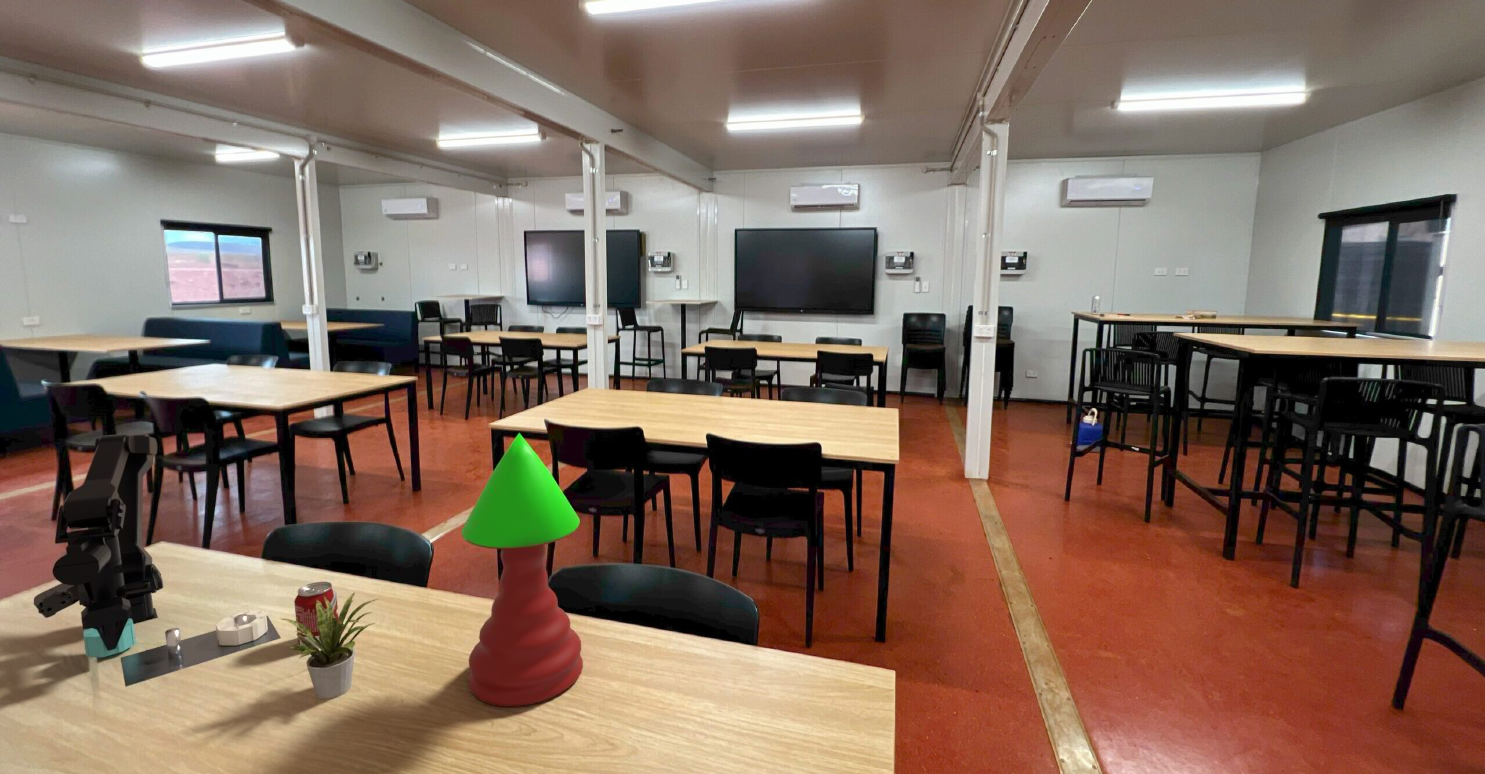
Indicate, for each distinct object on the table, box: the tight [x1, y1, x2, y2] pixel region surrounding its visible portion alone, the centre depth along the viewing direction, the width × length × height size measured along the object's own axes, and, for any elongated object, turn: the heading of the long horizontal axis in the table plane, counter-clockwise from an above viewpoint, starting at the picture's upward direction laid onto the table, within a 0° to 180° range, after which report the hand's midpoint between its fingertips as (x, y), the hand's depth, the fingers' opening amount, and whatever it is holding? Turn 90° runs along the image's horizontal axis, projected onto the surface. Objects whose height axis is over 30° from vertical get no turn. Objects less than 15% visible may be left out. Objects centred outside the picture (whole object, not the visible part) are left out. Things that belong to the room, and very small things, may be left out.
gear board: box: [120, 614, 282, 687], centre depth 122 cm, size 12×22×6 cm, turn 136°
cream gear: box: [215, 610, 268, 646], centre depth 127 cm, size 8×8×3 cm
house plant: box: [279, 592, 378, 700], centre depth 112 cm, size 14×14×16 cm
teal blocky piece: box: [82, 618, 137, 658], centre depth 120 cm, size 7×7×4 cm
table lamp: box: [460, 432, 584, 707], centre depth 115 cm, size 20×20×45 cm
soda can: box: [293, 581, 339, 650], centre depth 125 cm, size 7×7×12 cm
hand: (110, 641), depth 120 cm, fingers closed on teal blocky piece, 7 cm apart
